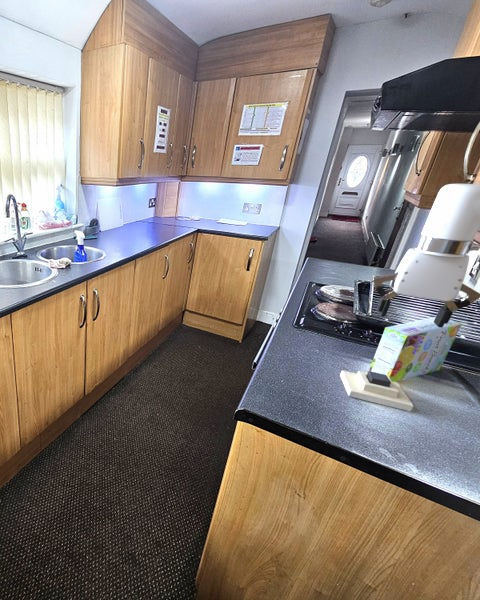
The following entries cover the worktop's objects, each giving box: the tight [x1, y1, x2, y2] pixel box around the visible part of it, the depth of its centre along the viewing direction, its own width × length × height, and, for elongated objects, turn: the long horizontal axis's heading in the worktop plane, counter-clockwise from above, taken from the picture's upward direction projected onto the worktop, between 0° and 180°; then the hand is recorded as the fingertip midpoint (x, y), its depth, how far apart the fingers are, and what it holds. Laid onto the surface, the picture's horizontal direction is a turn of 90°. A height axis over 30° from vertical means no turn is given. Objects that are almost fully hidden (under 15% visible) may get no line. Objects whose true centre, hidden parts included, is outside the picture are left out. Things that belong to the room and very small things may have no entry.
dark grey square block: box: [366, 370, 391, 387], centre depth 82 cm, size 4×4×2 cm
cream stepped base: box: [339, 369, 414, 412], centre depth 83 cm, size 12×10×4 cm
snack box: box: [368, 316, 463, 383], centre depth 88 cm, size 21×6×15 cm, turn 107°
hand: (408, 319), depth 75 cm, fingers open, 9 cm apart
